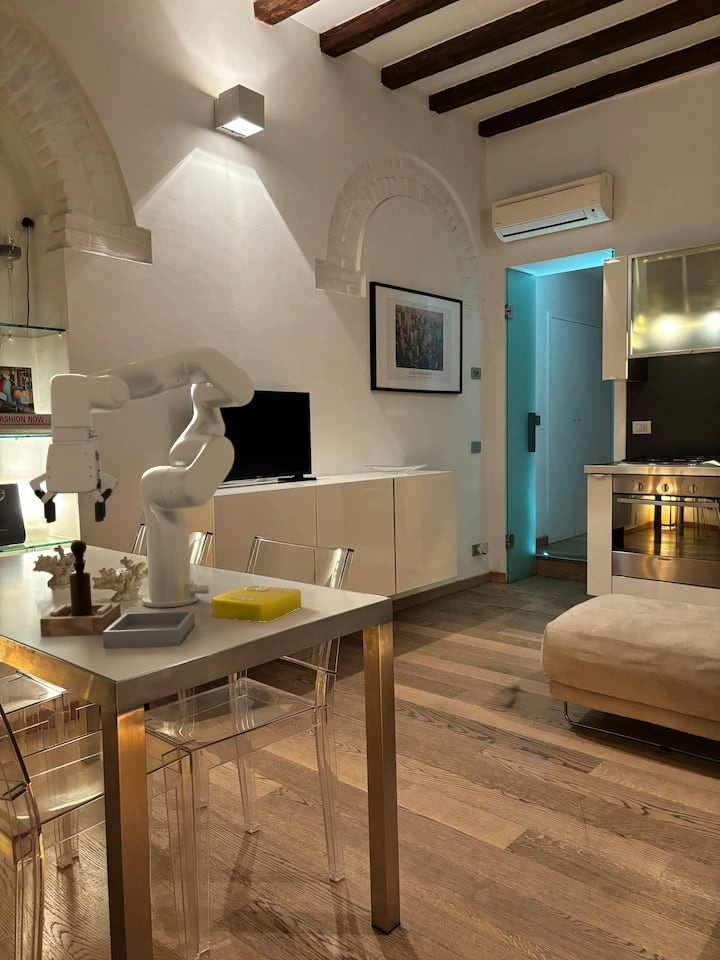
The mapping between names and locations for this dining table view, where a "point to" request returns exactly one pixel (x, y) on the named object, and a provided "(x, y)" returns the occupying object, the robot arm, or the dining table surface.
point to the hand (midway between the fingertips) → (75, 521)
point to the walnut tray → (79, 621)
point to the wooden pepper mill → (80, 583)
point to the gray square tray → (149, 629)
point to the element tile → (256, 603)
